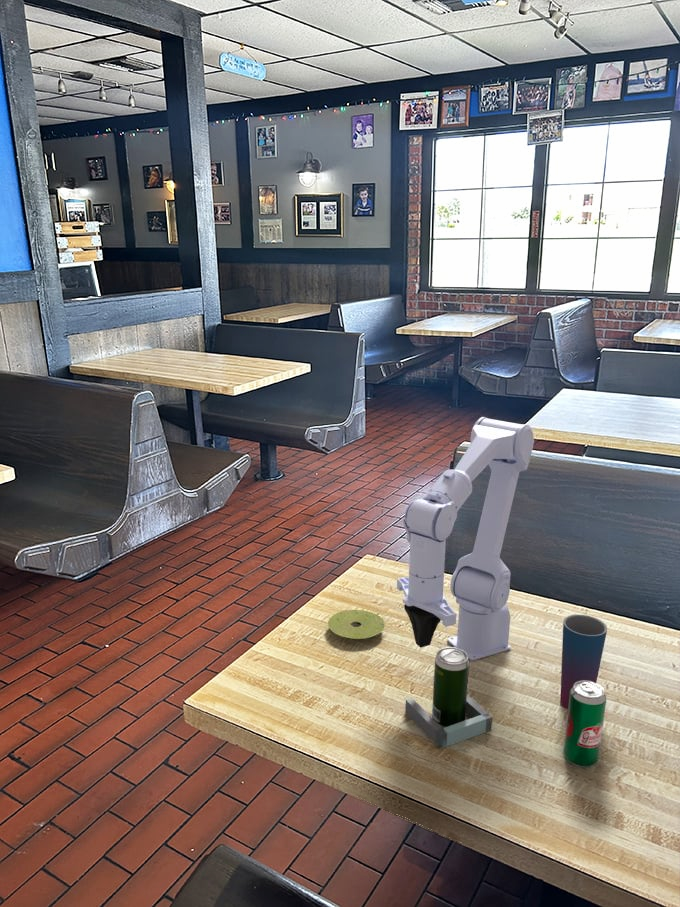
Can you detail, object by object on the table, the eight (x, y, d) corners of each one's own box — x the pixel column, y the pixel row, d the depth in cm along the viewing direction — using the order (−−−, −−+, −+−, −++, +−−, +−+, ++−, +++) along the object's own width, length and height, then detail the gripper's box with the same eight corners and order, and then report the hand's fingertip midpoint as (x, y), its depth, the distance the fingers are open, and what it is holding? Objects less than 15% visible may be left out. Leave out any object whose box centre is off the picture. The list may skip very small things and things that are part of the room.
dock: (454, 696, 122) (455, 683, 121) (491, 730, 114) (492, 716, 113) (405, 712, 118) (405, 699, 117) (439, 749, 109) (440, 735, 108)
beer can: (448, 735, 112) (452, 669, 109) (424, 717, 116) (428, 653, 113) (472, 722, 115) (476, 657, 112) (448, 705, 119) (452, 642, 116)
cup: (597, 696, 122) (607, 618, 118) (597, 720, 116) (607, 639, 112) (555, 688, 124) (564, 611, 120) (553, 711, 118) (562, 631, 114)
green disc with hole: (336, 614, 149) (336, 605, 148) (389, 622, 146) (389, 613, 145) (320, 642, 138) (320, 633, 138) (377, 651, 135) (377, 642, 135)
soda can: (578, 773, 105) (587, 702, 101) (555, 751, 109) (563, 683, 106) (605, 763, 106) (614, 694, 103) (581, 742, 111) (590, 675, 108)
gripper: (382, 558, 121) (380, 629, 125) (431, 595, 109) (427, 672, 112) (417, 550, 124) (414, 620, 128) (468, 585, 112) (464, 661, 116)
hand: (423, 644), depth 120 cm, fingers closed
